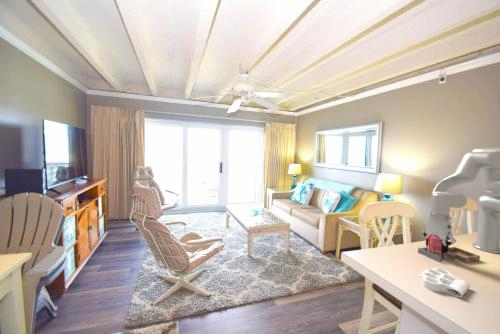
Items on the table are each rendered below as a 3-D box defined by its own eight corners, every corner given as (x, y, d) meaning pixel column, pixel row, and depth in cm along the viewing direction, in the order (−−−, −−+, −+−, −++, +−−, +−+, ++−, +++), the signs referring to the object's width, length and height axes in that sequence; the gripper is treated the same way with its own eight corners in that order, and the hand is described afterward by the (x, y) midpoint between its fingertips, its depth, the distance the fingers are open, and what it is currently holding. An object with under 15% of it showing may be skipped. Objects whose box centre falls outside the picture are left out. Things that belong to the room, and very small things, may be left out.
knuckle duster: (459, 303, 78) (411, 282, 90) (471, 287, 88) (427, 270, 100) (459, 294, 78) (412, 274, 90) (472, 279, 88) (428, 263, 100)
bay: (432, 250, 121) (432, 246, 121) (455, 260, 111) (455, 255, 111) (417, 252, 118) (418, 248, 118) (439, 262, 108) (440, 257, 108)
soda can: (437, 253, 118) (439, 232, 117) (448, 259, 111) (450, 237, 110) (423, 252, 118) (425, 231, 118) (433, 258, 111) (435, 236, 111)
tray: (453, 251, 122) (454, 246, 121) (479, 260, 111) (479, 256, 111) (439, 252, 119) (439, 248, 118) (464, 263, 108) (464, 258, 108)
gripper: (464, 221, 106) (461, 256, 107) (427, 211, 122) (424, 242, 124) (453, 222, 104) (450, 257, 105) (417, 212, 121) (414, 243, 122)
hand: (436, 249), depth 114 cm, fingers closed on soda can, 7 cm apart
